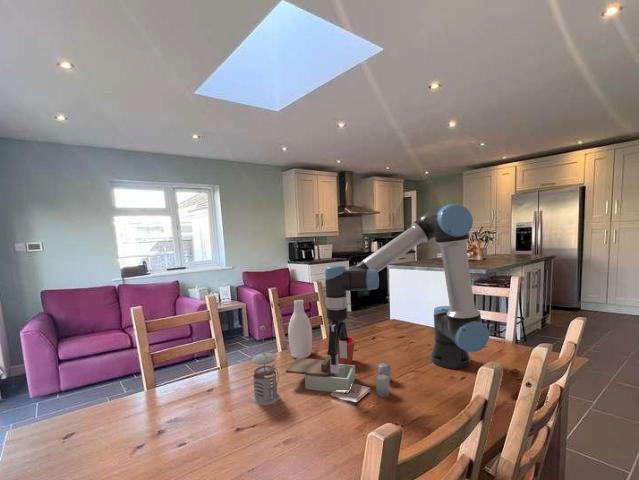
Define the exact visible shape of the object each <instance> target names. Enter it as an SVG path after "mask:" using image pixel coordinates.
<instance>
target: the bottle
mask: <svg viewBox="0 0 639 480" xmlns="http://www.w3.org/2000/svg"><path fill="white" fill-rule="evenodd" d="M312 328H313V327H312V324H311V321H310V318H309V316H308V314H306V312H305V308H304V300H303V299H297V300H296V299H295V300H293V313H292V315H291V317H290V319H289V323H288V328H287V329H288V331H287V333H288V334H287V335H288V345H289V350H290V355H291V357H292V358H295V359H297V358H306V359H308V357H310V356H311V354H312V348H313V347H312V344H313V329H312Z"/></svg>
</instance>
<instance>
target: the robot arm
mask: <svg viewBox="0 0 639 480" xmlns="http://www.w3.org/2000/svg"><path fill="white" fill-rule="evenodd" d="M473 224H474V220H473V215H472V213H471V212H470V210H469V209H468V208H467V207H466V206H463V205H462V204H457V203H451V204H450V203H447V204H444V205H440V206H436V207H433V208H431V209H430V210H428V211H426V212H425V213H424V214H423V215H421V216H419V218H417V219H416V220H415V221H413V222H412V223H411V227H409V228H408V229H406V230H405V231H403V232H402V233H400V234H399V235H397V236H396V237H395V238H393V239H392V240H389V242H387V243H386V244H385V245H383V246H381V247H380V248H378V249H377V250H376V251H374V252H373V253H371V254H370V255H368V256H367V257H366V258H364V259H363V260H361V261H359V262H358V263H357V264H355V265H352V266H350V267H348V269H346V267H345V266H344V265H341V264H339V265H337V264H335V265H334V264H333V265H329V266H326V267H325V270H324V272H325V273H324V281H325V282H324V283H325V296H326V298H325V299H324V301H325V302H326V319H328V320H329V321H331V325H329V328H328V329H329V330H328V332H329V334H328V347H327V353H326V355H327V356H330V368H331V373H337V374H338V373H339V367H338V354H337V349H338V341H339V338H340V340H341V341H339V348H340V358H347V344H346V341H345V340H348V338H347V337H349V336H348V331H347V330H348V329H347V325H346V319H348V308H347V307H348V298H347V296H348V295H347V292H351V291H352V292H355V291H356V292H357V291H371V290H377V289H378V288H379V286H380V277H379V272H380V271H382V270H383V269H385V268H386V267H387V266H390V264H392V263H393V262H396V261H397V260H398V259H399V258H401V257H402V256H404V255H405V254H407V253H408V252H410V251H411V250H412V249H414V248H415V247H417V246H419V244H421V243H427V242H429V241H430V240H432V239H435V244H437V245H438V246H440V250H441V255H442V256H441V257H442V263H443V271H444V278H445V283H446V290H447V296H448V303H449V304H448V305H443V306H437V307H435V308H434V309H433V323H434V324H433V327H434V328H433V329H434V344H433V346H432V351H431V353H430V354H431V355H430V357H431V362H432V363H433V364H435V365H436V366H439V367H442V368H445V369H451V370H453V369H455V370H456V369H465V368H468V367H470V365H471V356H470V353H476V352H479V351H481V350H483V349H484V348H485V346H487V344H488V343H489V341H490V331H489V329H488V327H487V326H486V324H484V323H483V322H482V317H481V312H480V311H481V310H479V309H477V308H476V306H475V300H474V293H473V285H472V279H471V272H470V265H469V256H468V251H467V246H466V245H467V242H469V240H470V233H469V232H471V229H472V228H473ZM332 351H333V352H332Z"/></svg>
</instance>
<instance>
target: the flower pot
mask: <svg viewBox="0 0 639 480" xmlns="http://www.w3.org/2000/svg"><path fill="white" fill-rule="evenodd" d="M347 338H348V340H345V341H346V344H347V358H340V348H339V341H341V340H340V338H339V341H338V349H337V354H338V364H346V365H352V363H353V358H354V357H353V356H354V350H355V349H354V348H355V343H356V342H355V339H354V337H351V336H347ZM332 352H333V351H332Z"/></svg>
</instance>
